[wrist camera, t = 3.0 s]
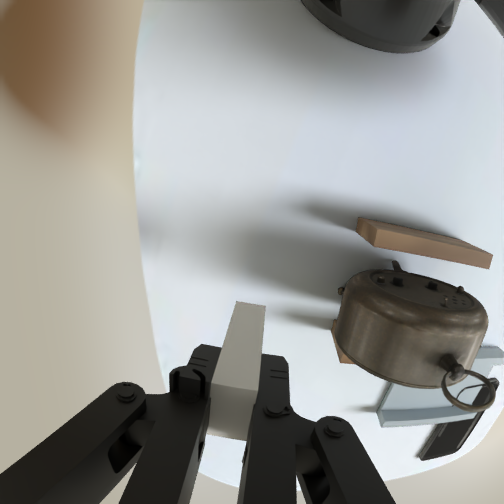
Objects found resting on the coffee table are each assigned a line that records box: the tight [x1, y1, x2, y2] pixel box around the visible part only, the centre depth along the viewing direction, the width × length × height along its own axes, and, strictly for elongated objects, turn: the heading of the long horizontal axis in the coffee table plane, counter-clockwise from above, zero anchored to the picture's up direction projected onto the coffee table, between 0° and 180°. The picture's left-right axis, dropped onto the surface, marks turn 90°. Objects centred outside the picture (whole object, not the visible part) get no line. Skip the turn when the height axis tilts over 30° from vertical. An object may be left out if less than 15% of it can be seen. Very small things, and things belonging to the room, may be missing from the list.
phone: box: [419, 378, 499, 461], centre depth 28 cm, size 8×1×15 cm
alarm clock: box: [334, 260, 496, 412], centre depth 16 cm, size 11×5×16 cm, turn 83°
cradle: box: [377, 347, 504, 428], centre depth 25 cm, size 10×14×2 cm, turn 82°
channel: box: [331, 217, 493, 364], centre depth 22 cm, size 10×11×5 cm
